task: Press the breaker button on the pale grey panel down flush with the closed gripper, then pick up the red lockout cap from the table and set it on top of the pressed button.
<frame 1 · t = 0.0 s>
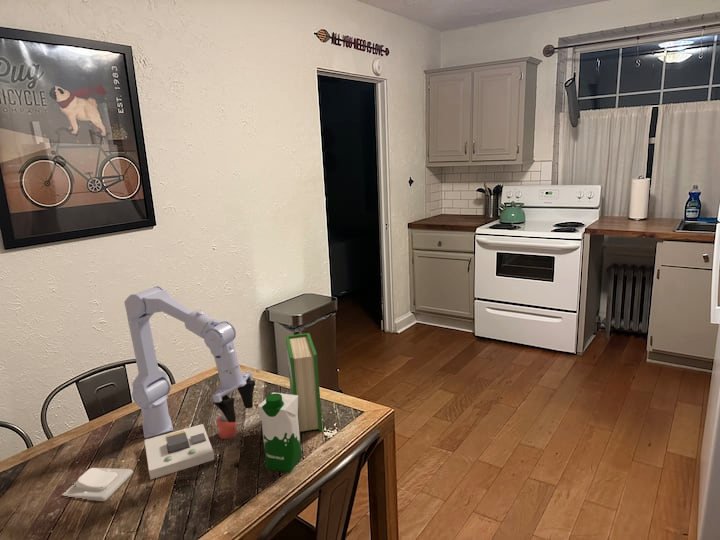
hand: (240, 414, 133), 11 cm above the table, tool pointing down, fingers open, 7 cm apart
light switch: (98, 487, 124), on the table
lockout cap: (228, 433, 143), on the table
breaker button: (177, 442, 134), point 3 cm above the table, slide at 0.0 cm
hardback book: (306, 418, 150), on the table
milk carton: (284, 463, 129), on the table
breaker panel: (179, 453, 135), on the table
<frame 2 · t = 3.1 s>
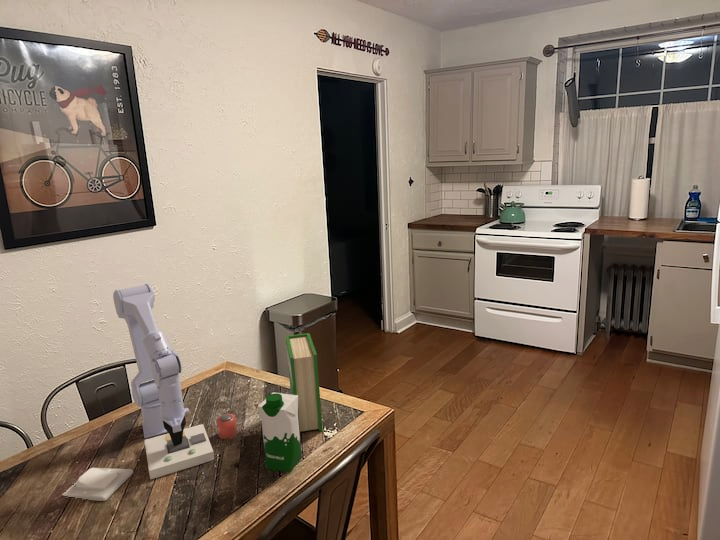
hand: (177, 443, 134), 3 cm above the table, tool pointing down, fingers closed, pressing on breaker button
breaker button: (178, 447, 134), point 2 cm above the table, slide at 1.3 cm, touching gripper
everything else where it was.
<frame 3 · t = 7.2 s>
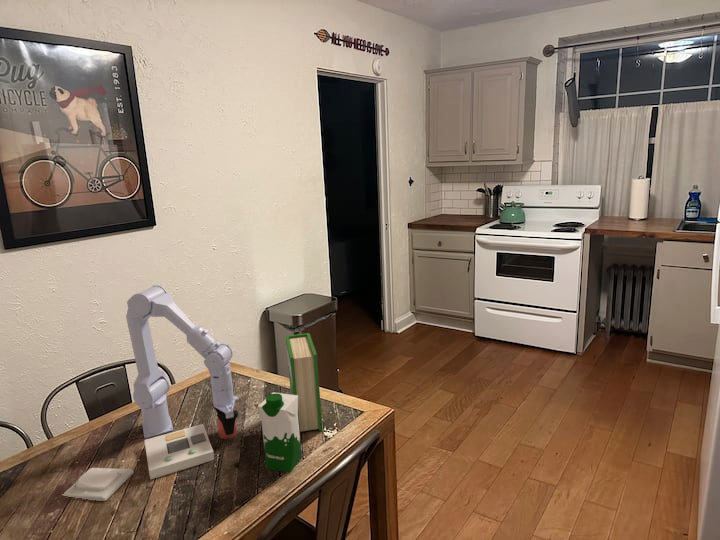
hand: (227, 429, 143), 1 cm above the table, tool pointing down, fingers closed on lockout cap, 5 cm apart
lockout cap: (228, 433, 143), on the table, touching gripper
breaker button: (178, 449, 135), point 1 cm above the table, slide at 2.1 cm
everything else where it was.
when the fingers open (5 cm above the table, at t = 10.9 s): lockout cap stays where it is, resting on breaker button.
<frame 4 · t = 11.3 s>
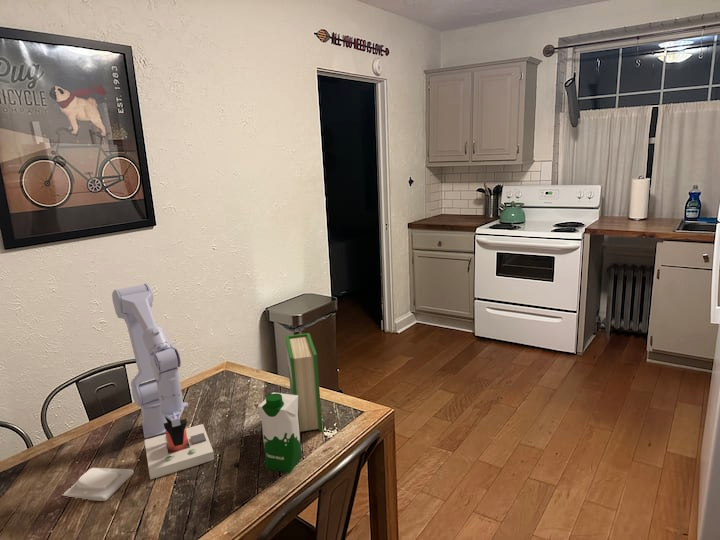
hand: (176, 437, 134), 5 cm above the table, tool pointing down, fingers open, 7 cm apart
lockout cap: (178, 445, 134), point 2 cm above the table, touching breaker button
breaker button: (178, 449, 135), point 1 cm above the table, slide at 2.1 cm, touching lockout cap
everything else where it was.
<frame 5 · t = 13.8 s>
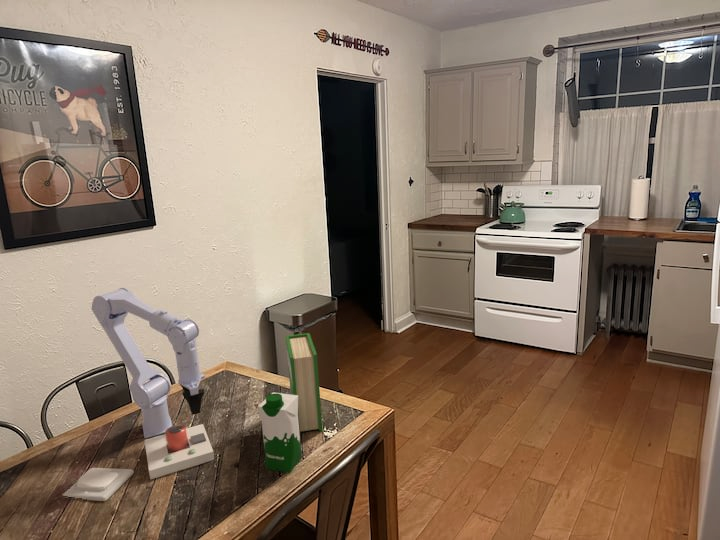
hand: (194, 407, 140), 9 cm above the table, tool pointing down, fingers open, 7 cm apart
nothing on the table moved.
at the end: breaker button slide at 2.1 cm; lockout cap 0.1 cm from the target spot, point 2.4 cm above the table; lockout cap tilted 1° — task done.
